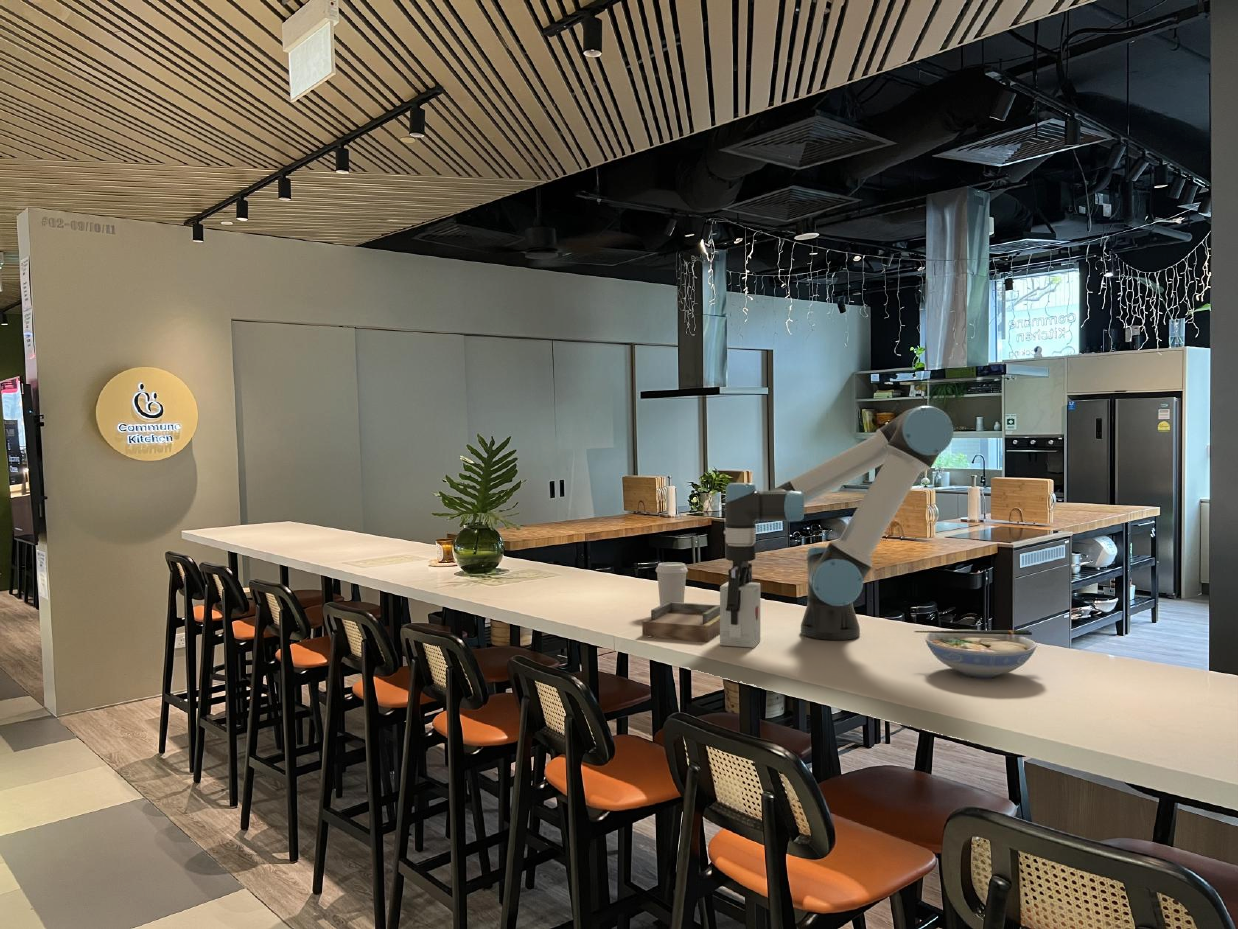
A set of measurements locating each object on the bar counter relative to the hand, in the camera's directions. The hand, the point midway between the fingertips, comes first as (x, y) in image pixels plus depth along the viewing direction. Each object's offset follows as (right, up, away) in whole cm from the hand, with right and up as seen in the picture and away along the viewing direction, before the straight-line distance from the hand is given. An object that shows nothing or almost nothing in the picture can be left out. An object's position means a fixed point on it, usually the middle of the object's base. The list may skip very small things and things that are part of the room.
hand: (740, 633), depth 226 cm
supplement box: (0, -3, 0) cm, 3 cm away
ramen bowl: (+48, -3, -31) cm, 57 cm away
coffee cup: (-15, -2, +39) cm, 42 cm away
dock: (-13, -2, +14) cm, 19 cm away
